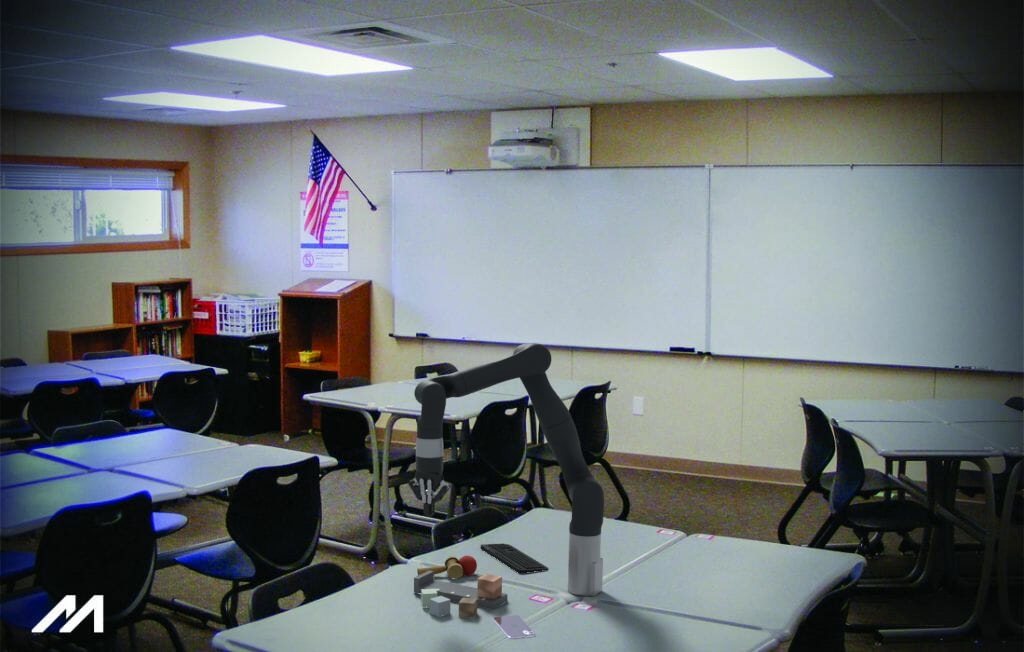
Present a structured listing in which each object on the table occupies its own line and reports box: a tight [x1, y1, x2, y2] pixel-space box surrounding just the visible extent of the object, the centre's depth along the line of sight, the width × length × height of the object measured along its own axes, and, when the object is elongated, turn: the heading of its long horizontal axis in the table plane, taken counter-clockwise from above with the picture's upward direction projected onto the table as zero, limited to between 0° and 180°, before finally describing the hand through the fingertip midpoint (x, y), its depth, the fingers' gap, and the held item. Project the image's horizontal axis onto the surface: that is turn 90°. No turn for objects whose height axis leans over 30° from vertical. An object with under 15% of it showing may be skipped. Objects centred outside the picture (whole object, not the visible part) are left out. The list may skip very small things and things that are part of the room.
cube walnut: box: [458, 598, 478, 619], centre depth 266 cm, size 4×4×4 cm
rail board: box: [413, 570, 508, 610], centre depth 280 cm, size 26×8×4 cm, turn 62°
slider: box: [476, 573, 503, 599], centre depth 275 cm, size 5×5×5 cm
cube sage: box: [420, 589, 437, 607], centre depth 273 cm, size 4×4×4 cm
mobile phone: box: [492, 614, 537, 640], centre depth 258 cm, size 8×1×15 cm
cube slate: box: [428, 596, 451, 618], centre depth 267 cm, size 4×4×4 cm
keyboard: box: [480, 543, 549, 574], centre depth 317 cm, size 30×11×2 cm, turn 26°
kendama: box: [417, 555, 478, 579], centre depth 299 cm, size 8×6×18 cm
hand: (428, 516), depth 272 cm, fingers closed
